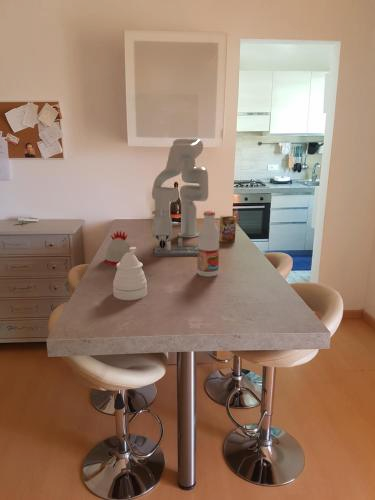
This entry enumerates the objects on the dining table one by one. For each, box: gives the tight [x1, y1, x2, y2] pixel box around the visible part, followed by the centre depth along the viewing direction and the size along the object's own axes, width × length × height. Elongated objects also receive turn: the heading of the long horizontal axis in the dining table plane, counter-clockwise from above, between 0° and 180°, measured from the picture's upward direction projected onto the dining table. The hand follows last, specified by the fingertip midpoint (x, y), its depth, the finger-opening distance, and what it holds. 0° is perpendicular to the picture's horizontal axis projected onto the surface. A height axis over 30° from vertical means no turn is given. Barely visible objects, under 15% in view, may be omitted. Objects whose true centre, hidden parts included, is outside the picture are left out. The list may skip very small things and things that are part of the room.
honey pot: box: [112, 246, 148, 301], centre depth 147 cm, size 13×13×18 cm
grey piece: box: [104, 230, 132, 266], centre depth 189 cm, size 14×14×15 cm
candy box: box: [218, 215, 237, 243], centre depth 229 cm, size 9×4×15 cm, turn 98°
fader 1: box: [166, 239, 172, 250], centre depth 204 cm, size 3×2×5 cm
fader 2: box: [177, 236, 183, 247], centre depth 211 cm, size 3×2×5 cm
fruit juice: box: [196, 210, 220, 278], centre depth 170 cm, size 9×9×28 cm
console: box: [154, 243, 198, 257], centre depth 207 cm, size 16×24×2 cm, turn 94°
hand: (162, 247), depth 204 cm, fingers closed
